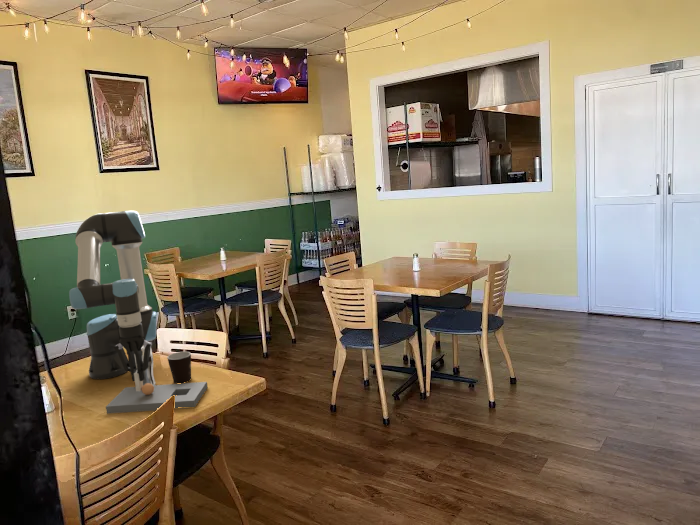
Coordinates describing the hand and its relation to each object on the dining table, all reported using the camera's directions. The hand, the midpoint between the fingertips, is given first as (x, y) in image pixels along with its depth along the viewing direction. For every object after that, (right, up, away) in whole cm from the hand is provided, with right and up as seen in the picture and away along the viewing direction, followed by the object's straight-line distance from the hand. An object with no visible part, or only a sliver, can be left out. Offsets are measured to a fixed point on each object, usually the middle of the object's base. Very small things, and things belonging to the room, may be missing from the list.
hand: (140, 389), depth 191 cm
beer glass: (-3, -2, +16) cm, 17 cm away
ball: (+3, 0, 0) cm, 3 cm away
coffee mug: (+10, -1, +20) cm, 22 cm away
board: (+6, -4, +1) cm, 8 cm away
